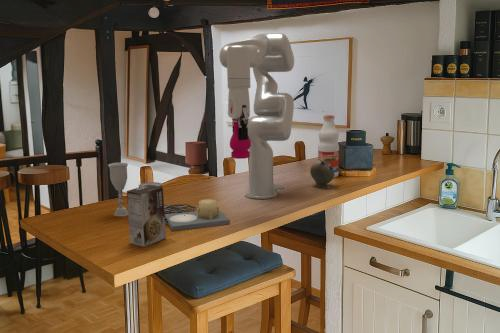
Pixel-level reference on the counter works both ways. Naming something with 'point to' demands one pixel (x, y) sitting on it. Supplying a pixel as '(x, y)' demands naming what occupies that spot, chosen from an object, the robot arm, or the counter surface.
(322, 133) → the fruit juice
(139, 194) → the coffee box
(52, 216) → the counter surface
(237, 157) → the pepper mill
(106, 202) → the counter surface
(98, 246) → the counter surface
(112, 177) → the chalice
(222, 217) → the plate
